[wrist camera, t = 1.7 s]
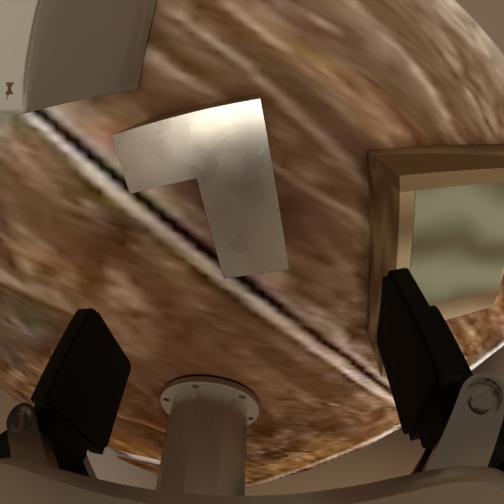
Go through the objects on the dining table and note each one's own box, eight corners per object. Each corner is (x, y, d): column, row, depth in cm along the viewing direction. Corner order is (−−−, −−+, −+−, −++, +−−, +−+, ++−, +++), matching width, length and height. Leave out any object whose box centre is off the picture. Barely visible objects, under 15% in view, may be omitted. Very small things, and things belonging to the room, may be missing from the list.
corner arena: (489, 300, 28) (514, 335, 23) (366, 330, 30) (381, 376, 25) (518, 144, 19) (561, 166, 14) (366, 150, 21) (399, 175, 16)
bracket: (281, 225, 24) (288, 269, 19) (182, 241, 25) (164, 286, 20) (258, 94, 19) (260, 98, 14) (146, 119, 20) (112, 135, 15)
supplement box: (160, -4, 15) (64, -66, 5) (139, 92, 19) (23, 121, 8) (72, 0, 15) (-48, -20, 4) (56, 88, 18) (-70, 122, 7)
